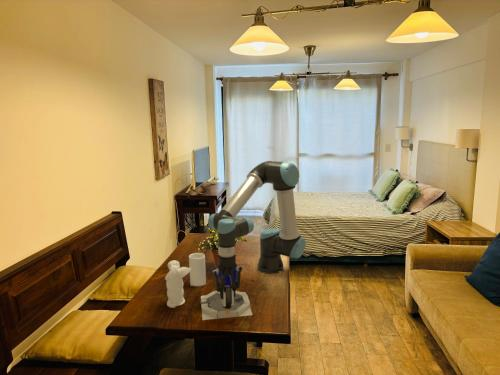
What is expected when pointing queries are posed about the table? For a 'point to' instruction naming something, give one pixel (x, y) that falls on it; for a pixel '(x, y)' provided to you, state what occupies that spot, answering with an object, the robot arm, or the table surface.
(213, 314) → the grey octagonal tray
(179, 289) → the cherub figurine
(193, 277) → the cup
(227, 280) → the ornament
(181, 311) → the table surface
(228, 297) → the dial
